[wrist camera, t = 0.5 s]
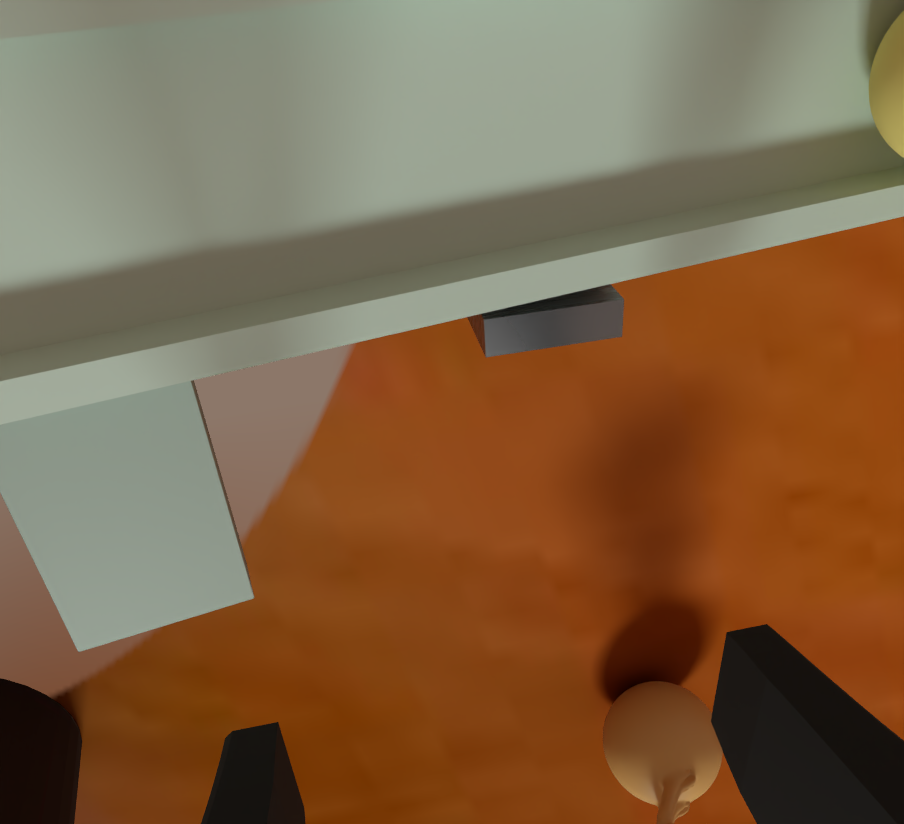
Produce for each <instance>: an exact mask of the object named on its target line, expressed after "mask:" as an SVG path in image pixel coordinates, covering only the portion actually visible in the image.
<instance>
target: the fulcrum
mask: <svg viewBox="0 0 904 824" xmlns="http://www.w3.org/2000/svg"><path fill="white" fill-rule="evenodd" d="M623 308H624V299H623V298H622V297H621V296H620V294H619V293H618V292H617V291H616V290H615V289H614V288H613V287H612V285H611V284H608V285H604V286H599V287H595V288H591V289H586V290H582V291H578V292H573V293H569V294H565V295H560V296H556V297H552V298H547V299H543V300H539V301H534V302H530V303H526V304H521V305H517V306H513V307H508V308H504V309H500V310H495V311H491V312H487V313H482V314H478V315H474V316H469V317H467V318H468V320H469V322H470V324H471V326H472V328H473V331H474V333H475V335H476V337H477V339H478V341H479V344H480V346H481V348H482V350H483V352H484V354H485V357H491V356H497V355H504V354H510V353H517V352H523V351H530V350H537V349H543V348H550V347H556V346H563V345H570V344H576V343H583V342H589V341H596V340H602V339H609V338H616V337H622V326H623Z"/></svg>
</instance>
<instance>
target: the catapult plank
mask: <svg viewBox="0 0 904 824" xmlns="http://www.w3.org/2000/svg"><path fill="white" fill-rule="evenodd" d="M903 10H904V0H0V493H1V495H2V497H3V499H4V501H5V503H6V505H7V507H8V509H9V511H10V514H11V516H12V518H13V520H14V522H15V524H16V526H17V528H18V530H19V532H20V534H21V536H22V538H23V540H24V542H25V544H26V546H27V548H28V550H29V552H30V554H31V556H32V558H33V560H34V562H35V564H36V567H37V569H38V571H39V573H40V574H41V577H42V579H43V581H44V583H45V585H46V587H47V589H48V591H49V593H50V595H51V597H52V599H53V601H54V603H55V605H56V607H57V609H58V611H59V613H60V615H61V618H62V619H63V621H64V624H65V626H66V628H67V630H68V632H69V634H70V636H71V638H72V640H73V642H74V644H75V646H76V648H77V650H78V652H80V651H84V650H87V649H90V648H93V647H97V646H100V645H103V644H106V643H110V642H113V641H116V640H119V639H123V638H126V637H129V636H132V635H136V634H139V633H142V632H146V631H149V630H152V629H155V628H159V627H162V626H165V625H168V624H172V623H175V622H178V621H181V620H185V619H188V618H191V617H194V616H198V615H201V614H204V613H207V612H211V611H214V610H217V609H220V608H224V607H227V606H230V605H234V604H237V603H240V602H243V601H247V600H250V599H253V598H254V595H253V591H252V586H251V581H250V577H249V572H248V568H247V563H246V560H245V556H244V553H243V549H242V546H241V542H240V539H239V535H238V532H237V528H236V525H235V521H234V518H233V515H232V511H231V508H230V504H229V501H228V497H227V494H226V490H225V487H224V484H223V480H222V477H221V473H220V470H219V466H218V463H217V459H216V456H215V452H214V449H213V446H212V442H211V438H210V435H209V432H208V428H207V425H206V421H205V418H204V414H203V411H202V407H201V404H200V400H199V397H198V394H197V390H196V387H195V383H194V380H196V379H200V378H205V377H209V376H213V375H218V374H222V373H227V372H231V371H235V370H240V369H244V368H248V367H253V366H257V365H261V364H265V363H270V362H274V361H278V360H283V359H287V358H292V357H296V356H300V355H305V354H309V353H313V352H318V351H322V350H326V349H331V348H335V347H339V346H344V345H348V344H352V343H357V342H361V341H365V340H370V339H374V338H378V337H383V336H387V335H391V334H396V333H400V332H404V331H409V330H413V329H417V328H422V327H426V326H430V325H435V324H439V323H443V322H448V321H452V320H456V319H461V318H465V317H469V316H474V315H478V314H482V313H487V312H491V311H495V310H500V309H504V308H508V307H513V306H517V305H521V304H526V303H530V302H534V301H539V300H543V299H547V298H552V297H556V296H560V295H565V294H569V293H573V292H578V291H582V290H586V289H591V288H595V287H599V286H604V285H608V284H612V283H617V282H621V281H625V280H630V279H634V278H638V277H643V276H647V275H651V274H656V273H660V272H664V271H669V270H673V269H677V268H682V267H686V266H690V265H695V264H699V263H703V262H708V261H712V260H716V259H721V258H725V257H729V256H734V255H738V254H742V253H747V252H751V251H755V250H760V249H764V248H768V247H773V246H777V245H781V244H786V243H790V242H794V241H799V240H803V239H807V238H812V237H816V236H820V235H825V234H829V233H833V232H838V231H842V230H846V229H851V228H855V227H859V226H864V225H868V224H872V223H877V222H881V221H885V220H890V219H894V218H898V217H903V216H904V158H903V157H901V156H900V155H899V154H898V153H897V152H895V151H894V150H893V149H892V148H891V147H890V146H889V145H888V144H887V142H886V141H885V140H884V138H883V137H882V136H881V134H880V133H879V131H878V129H877V127H876V125H875V122H874V119H873V116H872V113H871V109H870V103H869V78H870V72H871V68H872V64H873V61H874V58H875V55H876V52H877V50H878V48H879V45H880V43H881V41H882V39H883V38H884V36H885V34H886V32H887V31H888V29H889V28H890V26H891V25H892V24H893V22H894V21H895V20H896V18H897V17H898V16H899V15H900V14H901V13H902V12H903Z"/></svg>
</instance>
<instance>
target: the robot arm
mask: <svg viewBox="0 0 904 824" xmlns="http://www.w3.org/2000/svg"><path fill="white" fill-rule="evenodd" d="M711 723H712V726H713V728H714V731H715V733H716V736H717V738H718V740H719V743H720V745H721V748H722V750H723V753H724V755H725V758H726V760H727V763H728V765H729V767H730V770H731V772H732V774H733V777H734V779H735V781H736V784H737V786H738V788H739V791H740V793H741V795H742V796H743V798H744V800H745V802H746V804H747V806H748V808H749V810H750V811H751V813H752V815H753V817H754V819H755V821H756V822H757V824H904V741H903V740H902V739H901V738H900V737H898V736H897V735H896V734H895V733H894V732H892V731H891V730H890V729H889V728H887V727H886V726H885V725H884V724H882V723H881V722H880V721H879V720H878V719H876V718H875V717H874V716H873V715H872V714H870V713H869V712H868V711H867V710H866V709H864V708H863V707H862V706H861V705H860V704H859V703H857V702H856V701H855V700H854V699H853V698H852V697H850V696H849V695H848V694H847V693H846V692H845V691H843V690H842V689H841V688H840V687H839V686H838V685H836V684H835V683H834V682H833V681H832V680H831V679H829V678H828V677H827V676H826V675H825V674H824V673H823V672H821V671H820V670H819V669H818V668H817V667H816V666H815V665H813V664H812V663H811V662H810V661H809V660H808V659H807V658H805V657H804V656H803V655H802V654H801V653H800V652H799V651H797V650H796V649H795V648H794V647H793V646H792V645H791V644H789V643H788V642H787V641H786V640H785V639H784V638H783V637H781V636H780V635H779V634H778V633H777V632H776V631H775V630H773V629H772V628H771V627H770V626H768V625H767V624H766V625H761V626H756V627H751V628H746V629H741V630H736V631H731V632H727V634H726V640H725V645H724V651H723V656H722V662H721V667H720V673H719V679H718V684H717V690H716V695H715V701H714V706H713V712H712V718H711ZM201 824H305V812H304V806H303V803H302V799H301V796H300V793H299V790H298V786H297V783H296V780H295V776H294V773H293V770H292V767H291V763H290V760H289V757H288V753H287V750H286V747H285V744H284V740H283V737H282V734H281V730H280V727H279V724H278V722H276V723H271V724H266V725H261V726H256V727H251V728H246V729H241V730H236V731H232V732H231V733H230V734H229V735H228V736H227V737H226V738H225V742H224V746H223V750H222V754H221V758H220V762H219V766H218V769H217V773H216V777H215V780H214V784H213V787H212V791H211V794H210V797H209V800H208V804H207V807H206V810H205V813H204V816H203V819H202V822H201Z"/></svg>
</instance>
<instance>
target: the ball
mask: <svg viewBox="0 0 904 824" xmlns="http://www.w3.org/2000/svg"><path fill="white" fill-rule="evenodd" d="M869 103H870V109H871V113H872V116H873V119H874V122H875V125H876V127H877V129H878V131H879V133H880V134H881V136H882V137H883V138H884V140H885V141H886V142H887V144H888V145H889V146H890V147H891V148H892V149H893V150H894V151H895V152H897V153H898V154H899V155H900V156H901V157H903V158H904V10H903V12H902V13H901V14H900V15H899V16H898V17H897V18H896V20H895V21H894V22H893V24H892V25H891V26H890V28H889V29H888V31H887V32H886V34H885V36H884V38H883V39H882V41H881V43H880V45H879V48H878V50H877V52H876V55H875V58H874V61H873V64H872V68H871V72H870V78H869Z"/></svg>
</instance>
